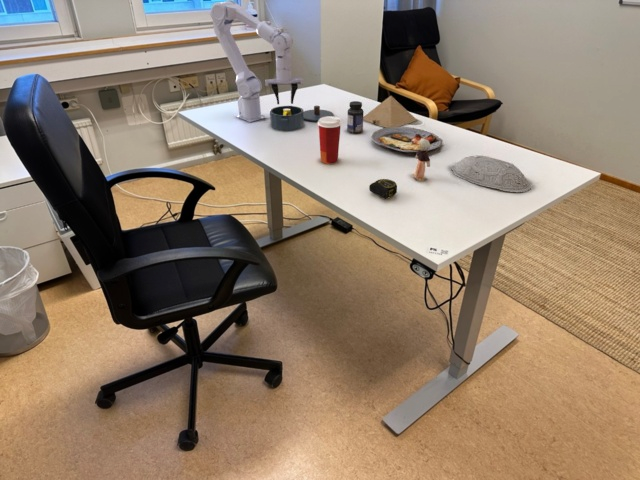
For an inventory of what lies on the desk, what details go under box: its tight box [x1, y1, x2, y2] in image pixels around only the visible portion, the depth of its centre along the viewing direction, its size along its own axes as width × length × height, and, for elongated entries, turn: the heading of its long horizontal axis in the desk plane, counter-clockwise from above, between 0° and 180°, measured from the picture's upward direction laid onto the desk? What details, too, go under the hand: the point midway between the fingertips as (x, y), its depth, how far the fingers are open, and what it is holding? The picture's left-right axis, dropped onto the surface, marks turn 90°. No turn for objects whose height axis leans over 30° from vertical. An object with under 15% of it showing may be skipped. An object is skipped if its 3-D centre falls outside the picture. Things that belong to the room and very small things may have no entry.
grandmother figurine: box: [411, 139, 431, 182], centre depth 134 cm, size 8×4×13 cm, turn 29°
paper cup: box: [316, 116, 342, 165], centre depth 145 cm, size 8×8×14 cm
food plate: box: [370, 126, 443, 154], centre depth 161 cm, size 25×23×4 cm
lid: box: [303, 105, 335, 122], centre depth 187 cm, size 14×14×4 cm
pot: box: [269, 105, 305, 132], centre depth 177 cm, size 13×18×6 cm
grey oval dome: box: [450, 154, 532, 193], centre depth 137 cm, size 16×25×7 cm, turn 44°
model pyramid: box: [363, 95, 418, 128], centre depth 182 cm, size 17×17×10 cm
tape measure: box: [368, 178, 398, 200], centre depth 127 cm, size 7×7×4 cm
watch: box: [283, 109, 291, 115], centre depth 177 cm, size 6×3×6 cm, turn 162°
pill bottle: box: [346, 100, 364, 135], centre depth 170 cm, size 6×6×11 cm
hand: (285, 103), depth 178 cm, fingers open, 5 cm apart
